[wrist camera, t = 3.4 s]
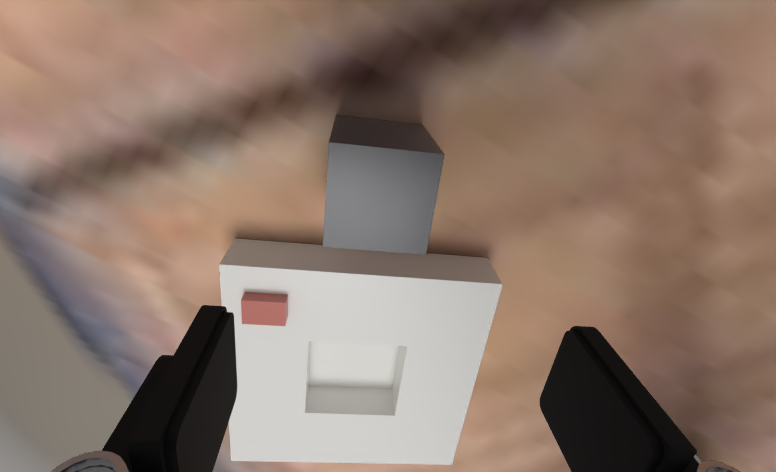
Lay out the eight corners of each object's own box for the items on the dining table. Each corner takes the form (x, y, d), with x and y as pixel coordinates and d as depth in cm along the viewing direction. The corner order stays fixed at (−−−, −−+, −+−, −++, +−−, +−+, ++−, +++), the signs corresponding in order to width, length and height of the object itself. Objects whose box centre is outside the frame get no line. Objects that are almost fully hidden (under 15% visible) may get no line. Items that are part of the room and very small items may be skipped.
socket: (487, 257, 34) (507, 291, 29) (443, 428, 42) (453, 474, 38) (235, 238, 31) (214, 272, 27) (242, 422, 40) (228, 471, 36)
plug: (422, 124, 29) (444, 154, 22) (409, 204, 31) (425, 254, 24) (336, 114, 28) (329, 142, 21) (330, 197, 31) (322, 246, 23)
